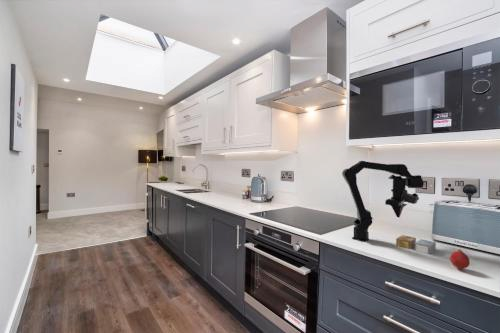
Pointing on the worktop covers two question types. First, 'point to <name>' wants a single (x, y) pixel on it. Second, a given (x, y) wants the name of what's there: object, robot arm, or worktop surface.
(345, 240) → the worktop surface
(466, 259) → the onion
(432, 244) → the grey block
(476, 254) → the worktop surface
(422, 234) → the worktop surface
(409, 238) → the walnut block
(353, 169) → the robot arm
